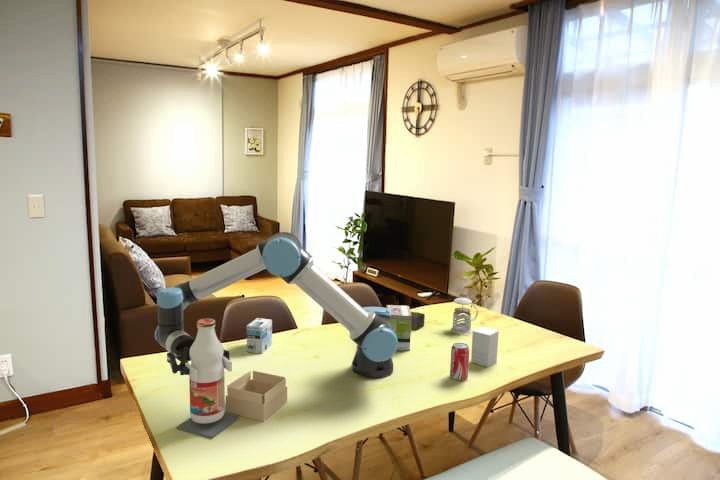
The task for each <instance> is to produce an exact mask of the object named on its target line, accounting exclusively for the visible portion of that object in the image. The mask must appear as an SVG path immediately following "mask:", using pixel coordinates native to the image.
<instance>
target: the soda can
mask: <svg viewBox="0 0 720 480" xmlns="http://www.w3.org/2000/svg"><path fill="white" fill-rule="evenodd" d="M450 351H451V352H450V364H449V365H450V366H449V376H450V377H451V378H452V379H453V378H454V379H453V380H455V379H456V381H466V380H467V379H468V378H469V366H470V365H469V364H470V362H469V361H470V347H469V345H468V343H464V342H455V343H453V344H452V345H451V350H450Z"/></svg>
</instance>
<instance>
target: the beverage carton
mask: <svg viewBox="0 0 720 480" xmlns="http://www.w3.org/2000/svg"><path fill="white" fill-rule="evenodd" d="M410 312H411V316H412V321H411V330H416V331H418V330H420V329H422V328H423V327H425V318H426V317H425V315H426V314H425V313H423V312H418V311H416V312H415V311H411V310H410Z"/></svg>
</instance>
